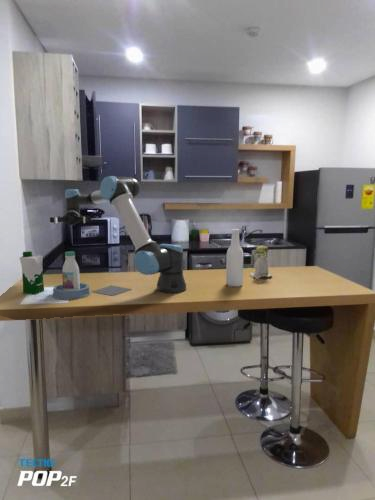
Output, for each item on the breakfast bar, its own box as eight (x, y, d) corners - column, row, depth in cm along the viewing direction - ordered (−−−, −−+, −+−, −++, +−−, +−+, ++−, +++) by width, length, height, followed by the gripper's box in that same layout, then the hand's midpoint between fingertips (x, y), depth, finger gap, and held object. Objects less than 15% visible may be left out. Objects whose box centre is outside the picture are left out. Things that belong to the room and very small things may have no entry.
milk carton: (31, 289, 183) (28, 250, 179) (47, 290, 181) (44, 251, 178) (19, 294, 174) (17, 253, 171) (36, 295, 172) (34, 254, 169)
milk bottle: (74, 289, 179) (72, 250, 176) (83, 292, 174) (81, 251, 171) (60, 292, 173) (58, 251, 170) (69, 295, 168) (67, 253, 165)
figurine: (276, 278, 208) (277, 246, 206) (256, 279, 204) (257, 247, 201) (265, 273, 220) (266, 244, 217) (246, 275, 216) (247, 244, 213)
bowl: (98, 292, 177) (98, 285, 176) (70, 301, 162) (69, 293, 161) (73, 287, 186) (72, 280, 185) (44, 296, 171) (44, 288, 170)
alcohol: (245, 285, 192) (247, 229, 187) (233, 287, 187) (234, 230, 182) (235, 281, 199) (236, 228, 194) (222, 284, 195) (223, 228, 190)
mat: (131, 289, 183) (131, 289, 183) (112, 296, 171) (112, 295, 171) (111, 285, 190) (110, 285, 190) (91, 291, 178) (91, 291, 178)
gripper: (95, 224, 202) (96, 227, 181) (48, 225, 195) (43, 228, 175) (95, 210, 201) (95, 212, 180) (47, 211, 194) (42, 213, 174)
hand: (69, 220), depth 178 cm, fingers open, 13 cm apart
